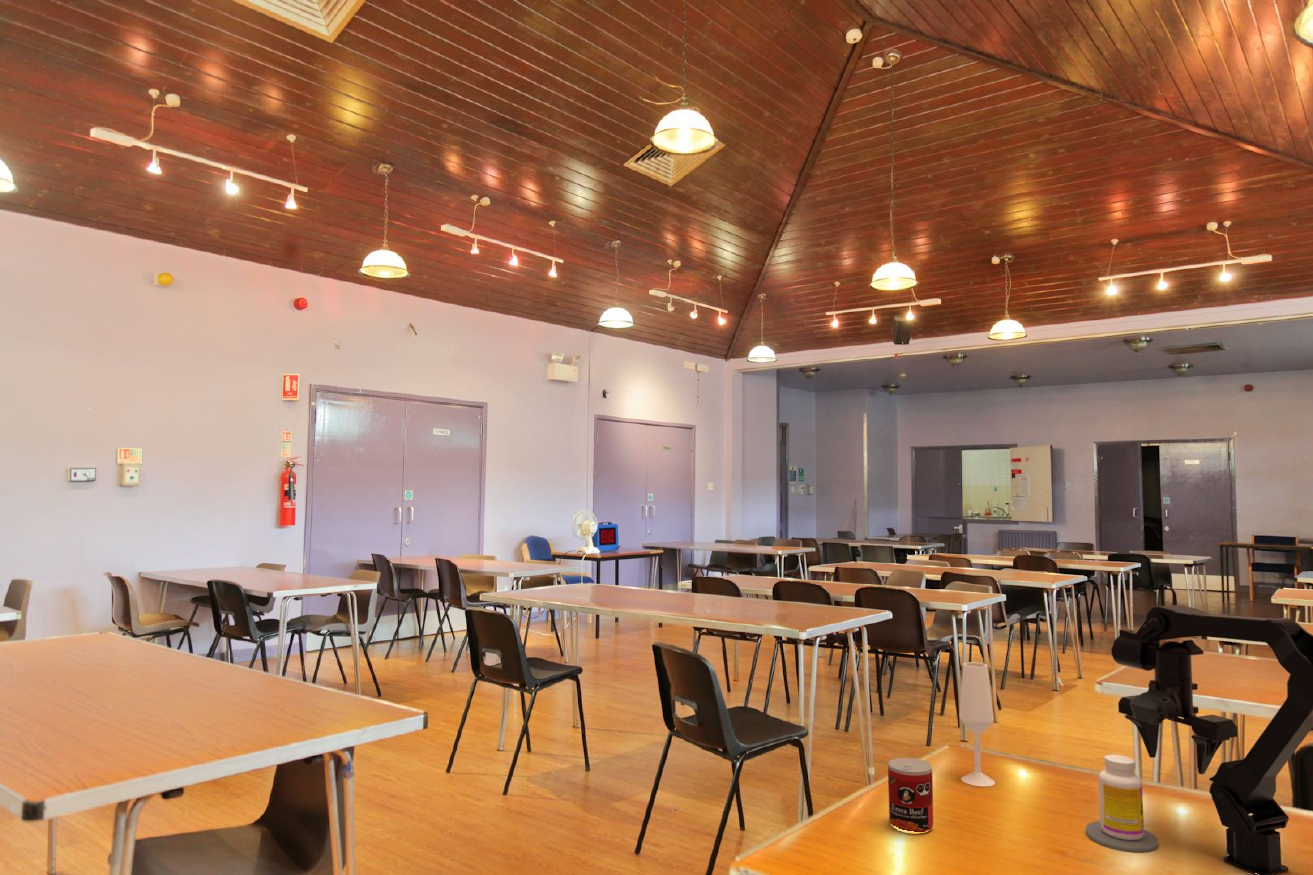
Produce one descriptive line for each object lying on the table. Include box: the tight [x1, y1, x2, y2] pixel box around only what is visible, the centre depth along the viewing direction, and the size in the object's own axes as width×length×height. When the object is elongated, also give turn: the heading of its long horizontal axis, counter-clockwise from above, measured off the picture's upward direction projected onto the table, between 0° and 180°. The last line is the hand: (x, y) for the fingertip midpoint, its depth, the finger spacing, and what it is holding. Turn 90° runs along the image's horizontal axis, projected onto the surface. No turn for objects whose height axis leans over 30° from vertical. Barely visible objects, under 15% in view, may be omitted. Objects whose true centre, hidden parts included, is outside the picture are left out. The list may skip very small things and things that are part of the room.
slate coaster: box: [1085, 820, 1159, 853], centre depth 144 cm, size 11×11×1 cm
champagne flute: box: [959, 661, 996, 787], centre depth 173 cm, size 7×7×24 cm
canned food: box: [887, 757, 934, 832], centre depth 149 cm, size 8×8×11 cm
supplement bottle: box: [1098, 754, 1145, 840], centre depth 144 cm, size 7×7×13 cm
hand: (1176, 765), depth 146 cm, fingers open, 9 cm apart
